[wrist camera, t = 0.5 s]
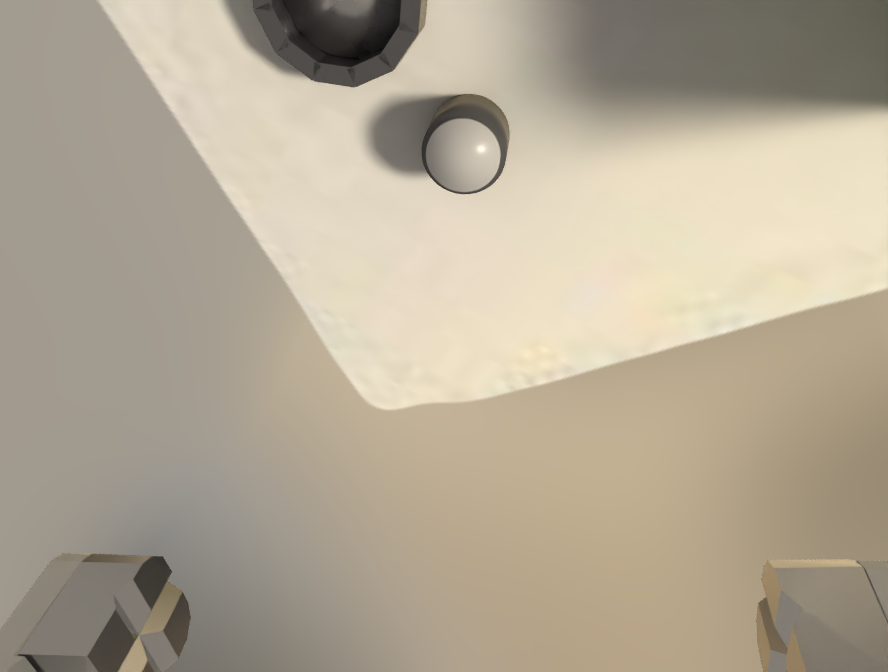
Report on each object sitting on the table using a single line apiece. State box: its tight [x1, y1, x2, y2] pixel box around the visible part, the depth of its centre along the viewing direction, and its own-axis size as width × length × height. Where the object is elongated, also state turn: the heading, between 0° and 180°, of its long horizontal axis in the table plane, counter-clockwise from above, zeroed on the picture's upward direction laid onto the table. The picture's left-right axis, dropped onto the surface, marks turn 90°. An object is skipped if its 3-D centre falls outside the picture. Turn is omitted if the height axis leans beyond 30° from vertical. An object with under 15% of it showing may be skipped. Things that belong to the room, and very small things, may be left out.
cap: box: [422, 94, 509, 194], centre depth 47 cm, size 6×6×4 cm
